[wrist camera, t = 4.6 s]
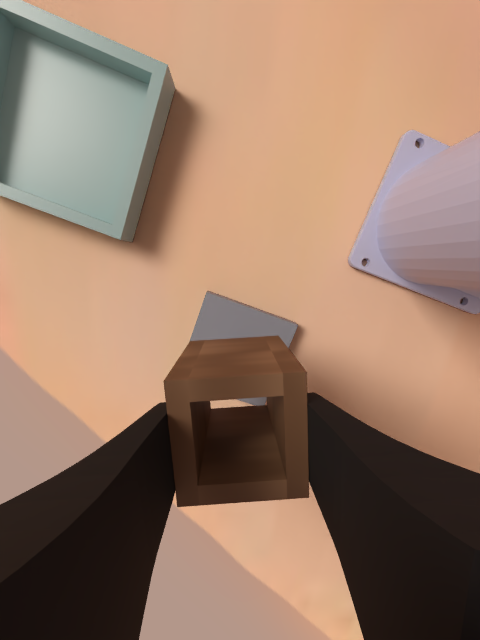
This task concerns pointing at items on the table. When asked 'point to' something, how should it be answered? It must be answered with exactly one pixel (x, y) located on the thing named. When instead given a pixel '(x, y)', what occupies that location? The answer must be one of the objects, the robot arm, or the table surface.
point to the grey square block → (239, 325)
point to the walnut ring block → (238, 422)
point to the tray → (77, 120)
